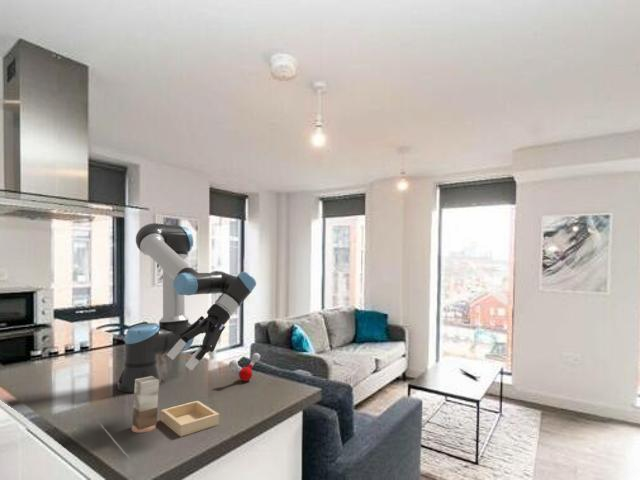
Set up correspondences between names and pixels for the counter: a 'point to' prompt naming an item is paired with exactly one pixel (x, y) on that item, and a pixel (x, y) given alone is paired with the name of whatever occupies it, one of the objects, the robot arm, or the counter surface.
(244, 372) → the molecular model
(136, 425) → the two-tone block
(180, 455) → the counter surface
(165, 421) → the beige open tray
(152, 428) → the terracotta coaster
